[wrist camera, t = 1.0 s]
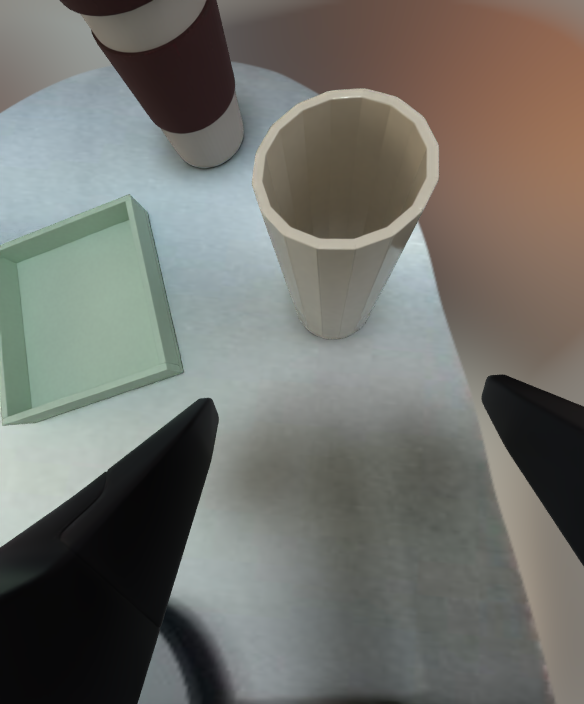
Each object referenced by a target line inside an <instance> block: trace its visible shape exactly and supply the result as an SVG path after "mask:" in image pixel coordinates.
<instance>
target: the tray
mask: <svg viewBox="0 0 584 704" xmlns="http://www.w3.org/2000/svg"><path fill="white" fill-rule="evenodd" d="M180 373H183V368H182V363H181V359H180V354H179V350H178V346H177V341H176V337H175V332H174V328H173V324H172V319H171V315H170V310H169V306H168V302H167V297H166V293H165V288H164V284H163V280H162V275H161V271H160V266H159V262H158V257H157V253H156V249H155V244H154V240H153V235H152V231H151V227H150V222H149V218H148V213H147V211H146V210H145V209H144V208H143V207H142V206H141V205H140V204H139V203H138V202H137V201H136V200H135V199H134V198H133V197H132V196H131V195H130V194H128V195H126V196H123V197H121V198H118V199H116V200H113V201H111V202H108V203H106V204H103V205H101V206H98V207H96V208H93V209H91V210H88V211H85V212H83V213H80V214H78V215H75V216H73V217H70V218H68V219H65V220H63V221H60V222H58V223H55V224H53V225H50V226H48V227H45V228H42V229H40V230H37V231H35V232H32V233H30V234H27V235H25V236H22V237H20V238H17V239H15V240H12V241H10V242H7V243H5V244H2V245H0V403H1V416H2V426H5V425H17V424H28V423H35V422H38V421H41V420H44V419H47V418H50V417H53V416H56V415H59V414H62V413H65V412H68V411H71V410H74V409H77V408H80V407H83V406H86V405H89V404H92V403H94V402H97V401H100V400H103V399H106V398H109V397H112V396H115V395H118V394H121V393H124V392H127V391H130V390H133V389H136V388H139V387H142V386H145V385H148V384H151V383H154V382H157V381H160V380H163V379H166V378H168V377H171V376H174V375H177V374H180Z"/></svg>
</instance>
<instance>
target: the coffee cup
mask: <svg viewBox="0 0 584 704" xmlns="http://www.w3.org/2000/svg"><path fill="white" fill-rule="evenodd" d="M60 1H61V2H62V3H63V4H64V5H65V6H66V7H68V8H69V9H70V10H73V11H75V12H77V13H80V14H81V15H82V17H83V18H84V20H85V21H86V23H87V24H88V25H89V27H90V28H91V31H92V34H93V37H94V38H95V40H96V42H97V44H98V45H99V47H100V48H101V50H102V51H103V52H104V54H105V55H106V57H107V58H108V59H109V61H110V62H111V64H112V65H113V66H114V68H115V69H116V71H117V72H118V73H119V75H120V76H121V78H122V79H123V80H124V82H125V83H126V85H127V86H128V87H129V89H130V90H131V92H132V93H133V94H134V96H135V97H136V99H137V100H138V101H139V103H140V104H141V106H142V107H143V108H144V110H145V111H146V113H147V114H148V115H149V117H150V118H151V120H152V121H153V122H154V123H155V124H156V125H157V126H158V127H160V128H161V130H162V131H163V133H164V134H165V135H166V137H167V138H168V140H169V141H170V143H171V144H172V145H173V147H174V148H175V150H176V151H177V152H178V154H179V155H180V157H181V158H182V159H183V160H184V161H186V162H187V163H188V164H190V165H193V166H195V167H200V168H209V167H215V166H217V165H220V164H222V163H224V162H226V161H227V160H229V159H230V158H231V157H232V156H233V155H234V154H235V153H236V151H237V150H238V149H239V147H240V145H241V143H242V139H243V132H244V128H243V122H242V118H241V114H240V109H239V105H238V101H237V97H236V93H235V79H234V74H233V70H232V65H231V61H230V57H229V52H228V48H227V44H226V39H225V35H224V31H223V26H222V22H221V18H220V13H219V9H218V5H217V1H216V0H60Z"/></svg>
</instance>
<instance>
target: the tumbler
mask: <svg viewBox="0 0 584 704" xmlns="http://www.w3.org/2000/svg"><path fill="white" fill-rule="evenodd" d="M438 179H439V146H438V143H437V141H436V139H435V137H434V135H433V133H432V132H431V130H430V128H429V126H428V124H427V122H426V120H425V118H423V116H422V115H421V114H419V113H418V112H417V111H415V110H414V109H413V108H411V107H410V106H409V105H407V104H406V103H405V102H404V101H402V100H401V99H400V98H397V97H395V96H392V95H388V94H384V93H380V92H377V91H373V90H369V89H364V88H361V89H347V90H333V91H328V92H325V93H323V94H320V95H318V96H315V97H313V98H310V99H308V100H305V101H303V102H300V103H298V104H296V105H295V106H294V107H293V108H292V109H290V110H289V111H288V112H287V113H286V114H285V115H283V116H282V117H281V118H280V119H279V120H277V121H276V122H275V123H274V124H273V125H272V126H271V127H270V129H269V131H268V133H267V134H266V136H265V138H264V139H263V141H262V143H261V145H260V146H259V148H258V150H257V152H256V154H255V162H254V170H253V178H252V186H253V189H254V192H255V195H256V198H257V201H258V204H259V208H260V211H261V213H262V216H263V219H264V222H265V225H266V227H267V230H268V233H269V236H270V239H271V242H272V244H273V247H274V250H275V253H276V256H277V258H278V261H279V264H280V267H281V270H282V272H283V275H284V278H285V281H286V284H287V286H288V289H289V292H290V295H291V298H292V300H293V303H294V306H295V309H296V312H297V315H298V317H299V320H300V321H301V323H302V324H303V325H304V327H305V328H306V329H307V330H308V331H310V332H311V333H313V334H314V335H316V336H319V337H321V338H325V339H341V338H345V337H347V336H350V335H352V334H354V333H355V332H357V331H358V330H359V329H360V328H361V327H362V326H363V325H364V324H365V323H366V321H367V319H368V317H369V315H370V313H371V311H372V309H373V307H374V305H375V303H376V301H377V300H378V298H379V296H380V294H381V292H382V290H383V288H384V286H385V284H386V282H387V280H388V278H389V276H390V274H391V272H392V270H393V268H394V267H395V265H396V263H397V261H398V259H399V257H400V255H401V253H402V251H403V249H404V247H405V245H406V243H407V241H408V239H409V237H410V235H411V234H412V232H413V230H414V228H415V226H416V224H417V222H418V220H419V218H420V216H421V214H422V212H423V210H424V208H425V206H426V204H427V202H428V200H429V198H430V196H431V194H432V192H433V190H434V188H435V186H436V184H437V182H438Z"/></svg>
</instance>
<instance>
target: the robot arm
mask: <svg viewBox="0 0 584 704" xmlns="http://www.w3.org/2000/svg"><path fill="white" fill-rule="evenodd" d="M482 403H483V405H484V407H485V409H486V410H487V413H488V415H489V417H490V419H491V421H492V423H493V424H494V426H495V428H496V430H497V432H498V434H499V436H500V438H501V440H502V442H503V444H504V445H505V447H506V449H507V450H508V452H509V454H510V455H511V457H512V458H513V460H514V461H515V463H516V464H517V466H518V467H519V469H520V470H521V472H522V473H523V475H524V476H525V478H526V479H527V481H528V482H529V484H530V485H531V487H532V489H533V490H534V492H535V493H536V495H537V496H538V498H539V499H540V501H541V502H542V504H543V505H544V507H545V508H546V510H547V511H548V513H549V514H550V516H551V517H552V519H553V520H554V522H555V524H556V525H557V526H558V528H559V530H560V531H561V532H562V534H563V536H564V537H565V539H566V540H567V542H568V543H569V545H570V546H571V548H572V549H573V551H574V552H575V554H576V555H577V557H578V558H579V560H580V562H581V563H582V564H583V566H584V407H583V406H581V405H579V404H576V403H573V402H571V401H569V400H566V399H564V398H561V397H559V396H556V395H554V394H551V393H549V392H546V391H544V390H541V389H539V388H536V387H534V386H531V385H529V384H526V383H524V382H521V381H519V380H516V379H514V378H511V377H509V376H506V375H491V376H488V377H487V379H486V382H485V386H484V390H483V393H482ZM218 422H219V417H218V413H217V410H216V408H215V405H214V402H213V400H212V399H211V398H201V399H198V400H197V401H196V402H194V403H193V404H192V405H190V406H189V407H188V408H187V409H185V410H184V411H183V412H181V413H180V414H179V415H178V416H176V417H175V418H174V419H173V420H171V421H170V422H169V423H167V424H166V425H165V426H164V427H162V428H161V429H160V430H158V431H157V432H156V433H155V434H153V435H152V436H151V437H149V438H148V439H147V440H146V441H144V442H143V443H142V444H140V445H139V446H138V447H137V448H135V449H134V450H133V451H131V452H130V453H129V454H128V455H126V456H125V457H124V458H122V459H121V460H120V461H119V462H117V463H116V464H115V465H113V466H112V467H111V468H110V469H108V471H107V472H104V473H103V474H102V475H100V476H99V477H98V478H97V479H95V480H94V481H93V482H91V483H90V484H89V485H87V486H86V487H85V488H84V489H82V490H81V491H80V492H78V493H77V494H76V495H74V496H73V497H71V498H70V499H69V500H67V501H66V502H64V503H63V504H62V505H60V506H59V507H57V508H56V509H55V510H53V511H52V512H50V513H49V514H48V515H46V516H45V517H43V518H42V519H40V520H39V521H38V522H36V523H35V524H33V525H32V526H30V527H29V528H28V529H26V530H25V531H23V532H22V533H20V534H19V535H18V536H16V537H15V538H13V539H12V540H10V541H9V542H8V543H6V544H5V545H3V546H2V547H0V704H137V703H138V700H139V697H140V694H141V690H142V687H143V684H144V680H145V677H146V674H147V671H148V667H149V664H150V661H151V658H152V654H153V651H154V648H155V644H156V641H157V638H158V635H159V631H160V627H161V624H162V621H163V618H164V614H165V611H166V608H167V604H168V601H169V598H170V595H171V591H172V588H173V585H174V582H175V578H176V575H177V572H178V568H179V565H180V562H181V559H182V555H183V552H184V549H185V545H186V542H187V539H188V536H189V532H190V529H191V526H192V523H193V519H194V516H195V513H196V509H197V506H198V503H199V500H200V496H201V493H202V490H203V487H204V483H205V480H206V477H207V473H208V470H209V467H210V463H211V459H212V454H213V449H214V443H215V438H216V433H217V428H218Z"/></svg>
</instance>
